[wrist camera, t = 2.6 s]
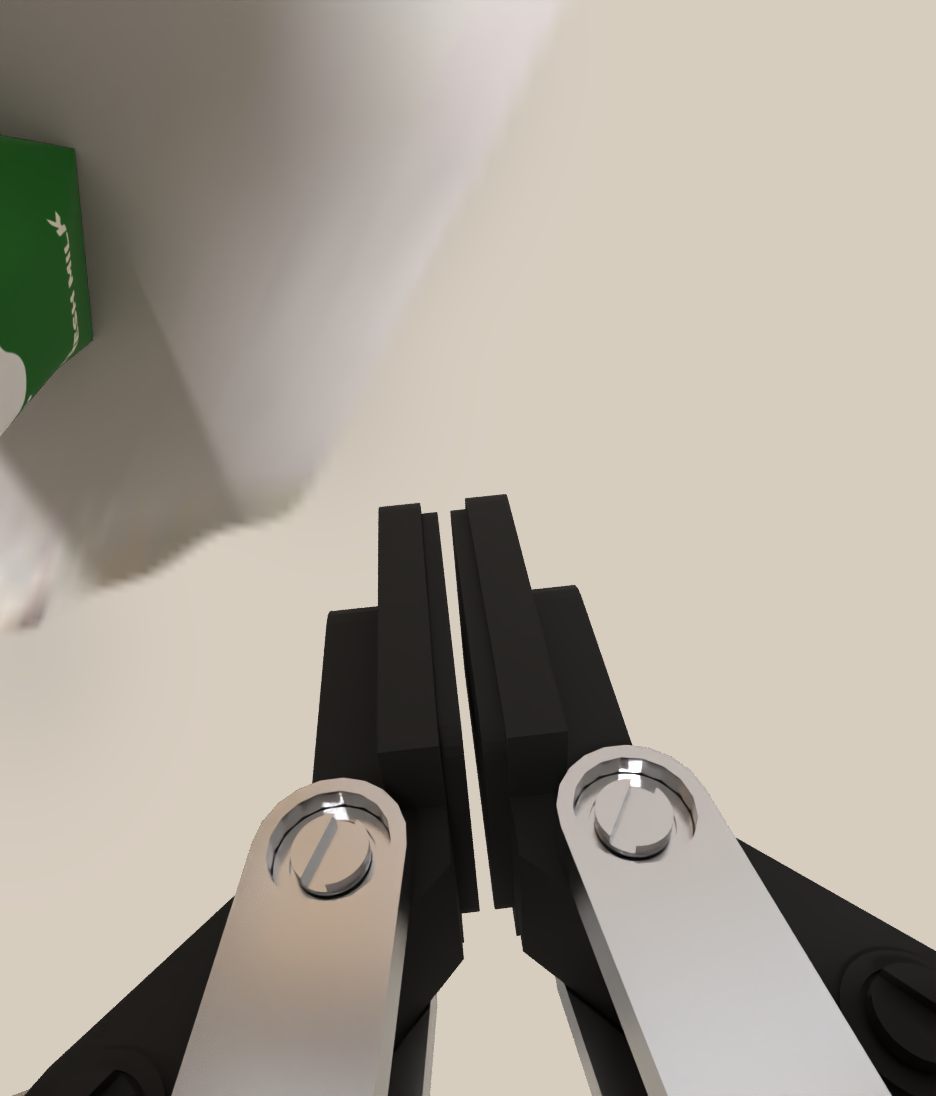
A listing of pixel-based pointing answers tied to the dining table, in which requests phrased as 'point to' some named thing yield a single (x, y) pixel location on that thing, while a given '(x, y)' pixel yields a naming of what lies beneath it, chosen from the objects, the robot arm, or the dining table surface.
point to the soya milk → (39, 269)
